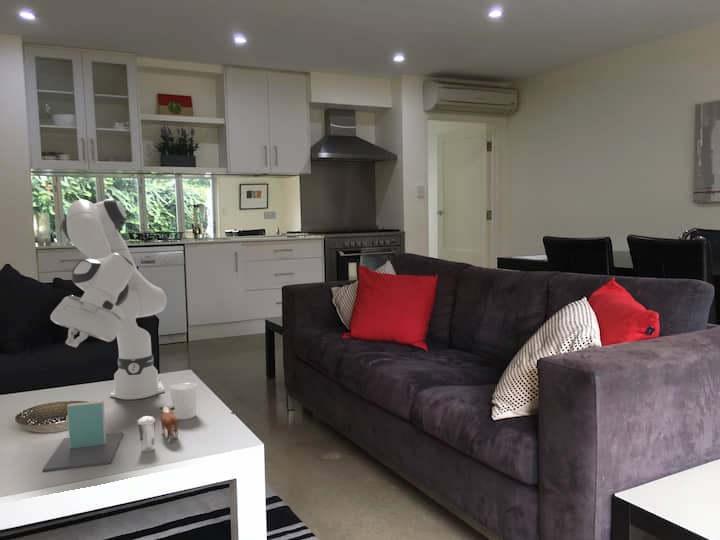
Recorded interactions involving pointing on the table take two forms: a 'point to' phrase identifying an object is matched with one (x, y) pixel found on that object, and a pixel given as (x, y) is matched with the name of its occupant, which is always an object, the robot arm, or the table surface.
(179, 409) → the white cup
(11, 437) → the table surface
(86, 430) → the tile
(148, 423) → the milkshake
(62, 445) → the mat
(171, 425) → the bull figurine
